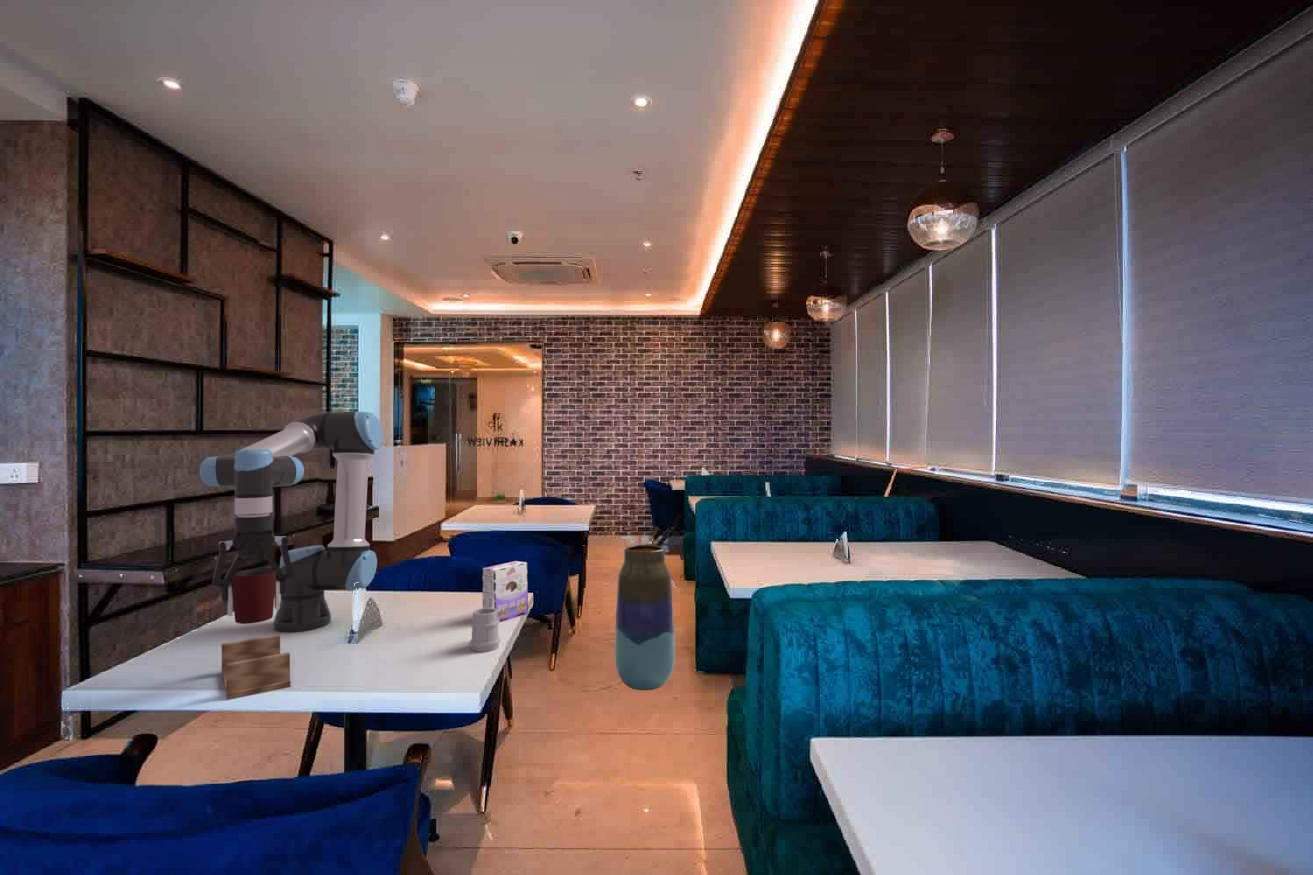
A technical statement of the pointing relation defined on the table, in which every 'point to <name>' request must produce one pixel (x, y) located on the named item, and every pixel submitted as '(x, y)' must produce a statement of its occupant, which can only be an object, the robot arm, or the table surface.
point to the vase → (644, 619)
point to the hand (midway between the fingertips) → (254, 611)
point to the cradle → (254, 666)
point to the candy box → (506, 589)
